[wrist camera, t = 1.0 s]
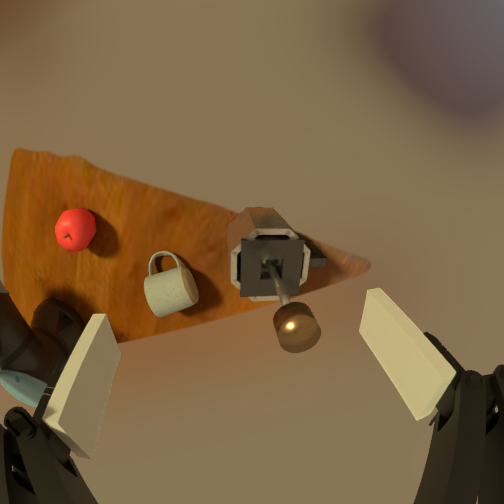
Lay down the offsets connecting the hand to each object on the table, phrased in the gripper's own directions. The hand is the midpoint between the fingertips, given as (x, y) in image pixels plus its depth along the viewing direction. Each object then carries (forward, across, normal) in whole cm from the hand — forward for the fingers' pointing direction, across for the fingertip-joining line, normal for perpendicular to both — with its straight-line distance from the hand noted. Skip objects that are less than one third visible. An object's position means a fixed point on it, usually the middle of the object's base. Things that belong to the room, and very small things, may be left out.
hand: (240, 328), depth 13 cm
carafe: (+36, +7, -9) cm, 38 cm away
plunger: (+26, +6, -9) cm, 28 cm away
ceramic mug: (+36, -11, -15) cm, 41 cm away
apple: (+36, -27, -3) cm, 45 cm away
